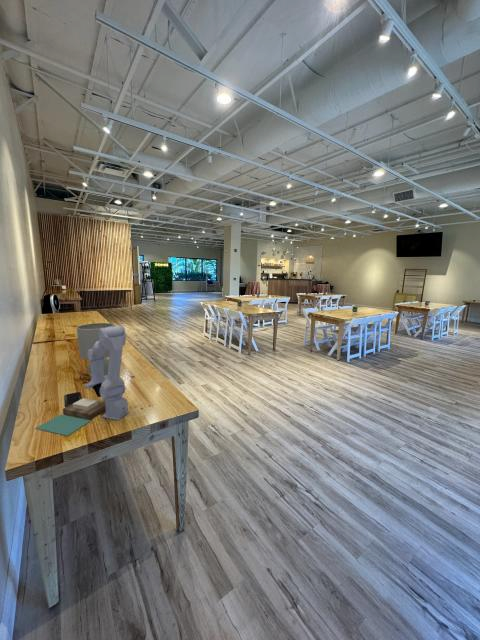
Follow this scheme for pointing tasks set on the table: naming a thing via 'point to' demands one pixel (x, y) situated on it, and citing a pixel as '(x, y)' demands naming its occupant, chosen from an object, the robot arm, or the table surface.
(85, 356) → the lamp
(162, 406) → the table surface
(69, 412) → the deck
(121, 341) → the robot arm
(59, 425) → the mat
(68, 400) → the phone
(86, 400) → the white rectangular block
